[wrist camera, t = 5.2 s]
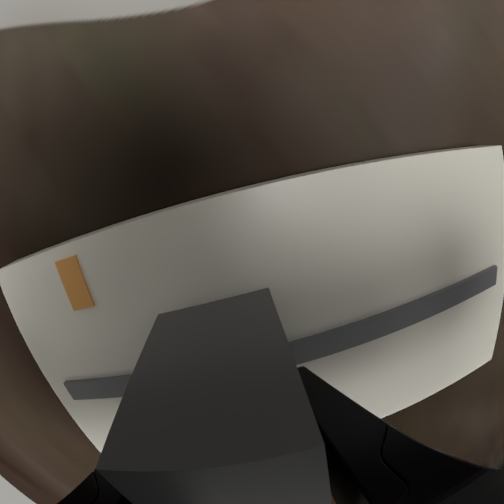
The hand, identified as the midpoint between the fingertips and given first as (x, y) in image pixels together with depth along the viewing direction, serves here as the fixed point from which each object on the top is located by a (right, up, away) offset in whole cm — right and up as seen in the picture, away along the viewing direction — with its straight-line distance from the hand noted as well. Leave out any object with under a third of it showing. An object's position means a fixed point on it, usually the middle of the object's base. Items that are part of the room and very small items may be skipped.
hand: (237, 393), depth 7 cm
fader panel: (+2, +1, +3) cm, 3 cm away
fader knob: (0, 0, +1) cm, 1 cm away
